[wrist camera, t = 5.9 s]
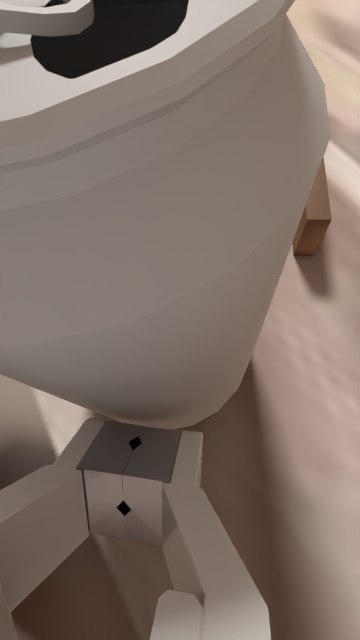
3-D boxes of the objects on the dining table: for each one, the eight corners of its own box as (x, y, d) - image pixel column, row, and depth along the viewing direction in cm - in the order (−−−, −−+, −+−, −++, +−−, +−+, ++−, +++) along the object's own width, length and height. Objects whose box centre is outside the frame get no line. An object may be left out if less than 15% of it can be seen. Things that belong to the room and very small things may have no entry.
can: (258, 431, 12) (766, 112, 1) (78, 435, 12) (-827, 276, 2) (239, 275, 15) (305, -199, 4) (98, 285, 16) (-160, -102, 5)
